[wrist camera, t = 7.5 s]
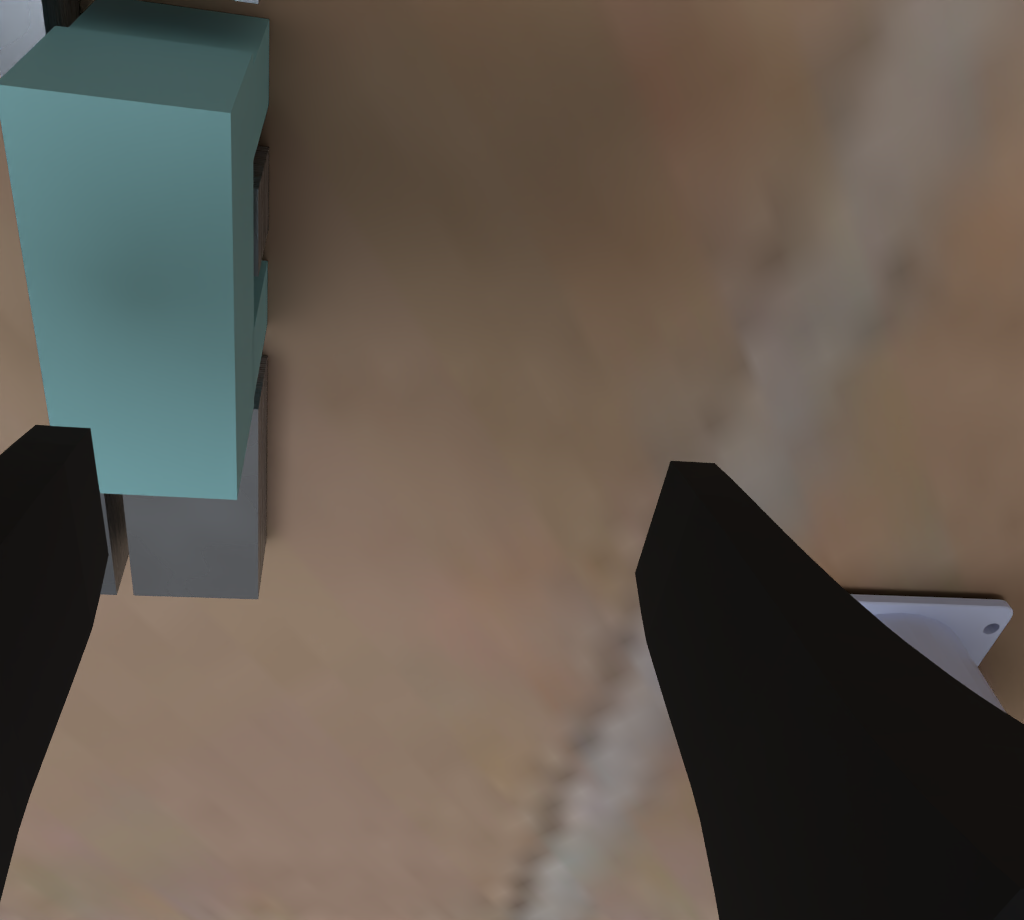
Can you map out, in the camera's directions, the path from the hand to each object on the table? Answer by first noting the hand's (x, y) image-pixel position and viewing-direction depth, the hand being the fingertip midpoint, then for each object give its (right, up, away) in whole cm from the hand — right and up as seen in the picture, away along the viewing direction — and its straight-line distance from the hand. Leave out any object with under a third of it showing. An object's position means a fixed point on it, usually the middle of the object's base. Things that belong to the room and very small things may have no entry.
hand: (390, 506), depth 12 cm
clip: (-5, +6, +7) cm, 11 cm away
